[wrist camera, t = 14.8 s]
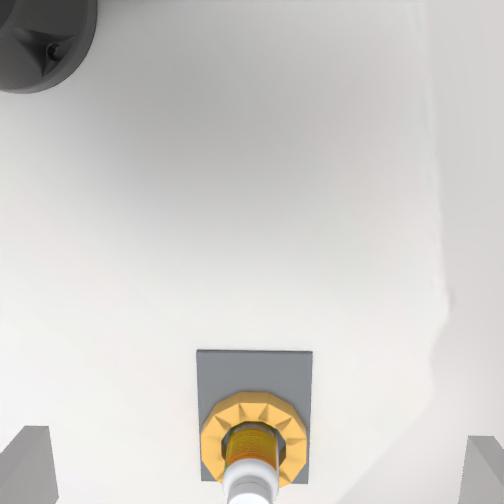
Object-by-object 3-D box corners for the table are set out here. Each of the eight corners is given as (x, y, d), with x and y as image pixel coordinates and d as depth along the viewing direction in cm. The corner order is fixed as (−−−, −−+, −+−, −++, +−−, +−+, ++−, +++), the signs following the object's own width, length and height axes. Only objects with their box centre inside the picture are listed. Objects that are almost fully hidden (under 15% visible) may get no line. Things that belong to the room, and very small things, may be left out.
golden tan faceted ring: (205, 477, 47) (202, 491, 45) (202, 390, 45) (199, 402, 43) (303, 480, 47) (305, 494, 45) (306, 392, 44) (308, 404, 42)
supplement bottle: (222, 420, 45) (210, 492, 36) (270, 410, 45) (271, 481, 35) (236, 461, 47) (227, 541, 37) (283, 452, 46) (286, 531, 37)
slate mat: (201, 477, 48) (201, 481, 47) (197, 350, 44) (196, 352, 44) (307, 480, 47) (307, 483, 47) (311, 351, 44) (312, 354, 43)
